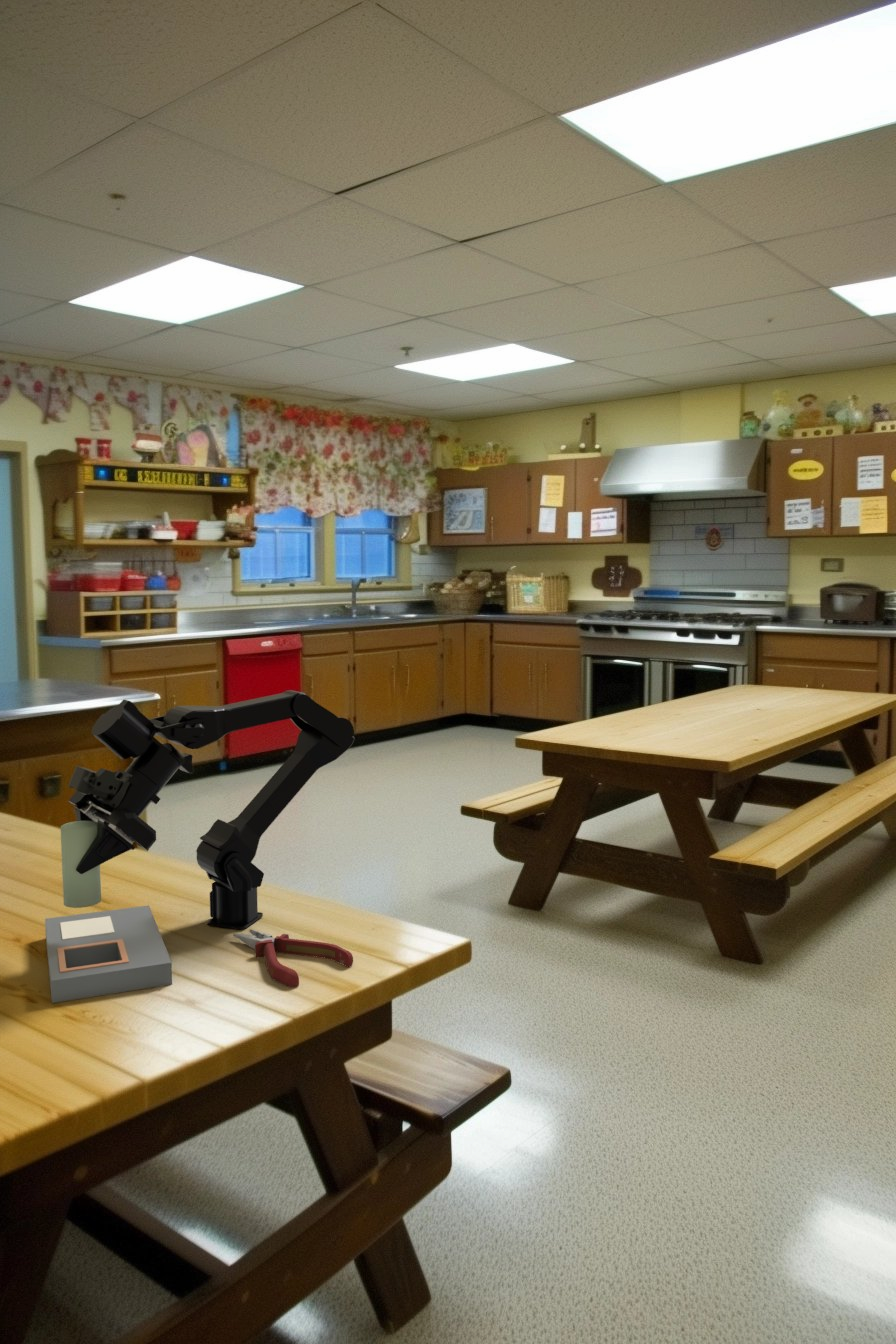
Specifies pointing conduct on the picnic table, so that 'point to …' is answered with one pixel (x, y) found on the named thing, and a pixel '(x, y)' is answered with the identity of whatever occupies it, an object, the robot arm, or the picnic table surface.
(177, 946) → the picnic table surface
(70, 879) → the post
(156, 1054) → the picnic table surface
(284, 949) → the pliers
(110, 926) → the slotted grey base
